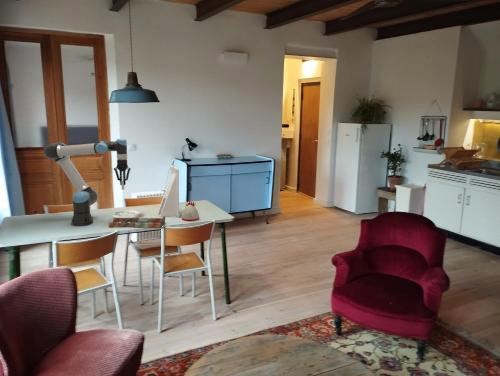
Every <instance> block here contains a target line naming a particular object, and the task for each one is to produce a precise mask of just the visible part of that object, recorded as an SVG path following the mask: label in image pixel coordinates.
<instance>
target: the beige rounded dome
mask: <svg viewBox="0 0 500 376" xmlns="http://www.w3.org/2000/svg"><path fill="white" fill-rule="evenodd" d="M198 211H199V210H198V209H197V208H196V203H195V202H194V201H193V202H192V201H190V200H189V201H187V203H185V207H184V209H183V210H182V215H181V220H182V221H184V222H196V221H199V219H200V214H199V212H198Z"/></svg>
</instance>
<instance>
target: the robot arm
mask: <svg viewBox="0 0 500 376" xmlns="http://www.w3.org/2000/svg"><path fill="white" fill-rule="evenodd" d="M109 152H116V166H115V167H114V168H113V171H114V173H115V176H116V179H117V181H119V185H120V186H121V190H125V186H126V181H128V179H129V176H130V173H131V170H132V168H131V167H129V165H128V144H127V139H126V138H117V139H116V140H115V141H109V140H101V141H100V142H95V143H93V142H92V143H85V144H84V143H83V144H72V145H67V144H65V143H63V142H55V143H54V142H53V143H49V144H47V145H45V147H44V148H43V155H44V156H45V158H47V159H49V160H51V161H52V160H54V162H55V164H58V165H59V166H60V168H61V170H62V171H63V172H64V174H65V175H66V177H67V178H68V180H69V181H70V183H71V184H72V187H74V189H75V191H76V192H75V193H73V195H72V208H73V210H72V211H73V215H72V218H71V221H70V222H71V226H77V227H86V226H89V225H92V224H94V219H93V216H92V214H91V207H92V205H95V203H96V202H97V201H98V199H99V196H98V193H97V191H96V190H95V189H93V188H92V187H91V185H87V183H86V182H85V180H84V178H83V177H82V175H81V174H80V172H79V171H78V169H77V168H76V165H74V162H73V161H72V160H71V156H83V155H93V154H94V155H96V154H101V155H102V154H106V153H109ZM126 171H127V173H126Z"/></svg>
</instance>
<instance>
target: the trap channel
mask: <svg viewBox="0 0 500 376" xmlns="http://www.w3.org/2000/svg"><path fill="white" fill-rule="evenodd" d="M139 219H149V223H138V220H139ZM119 222H130V223H119ZM107 223H108V228H110V229H111V228H112V229H113V227H134V228H133V229H141V228H142V229H162V228H161V227H162V226H163V225H165V224H166V217H165V216H163V217H161V218H160V217H113V218H112V222H107ZM163 227H164V226H163Z"/></svg>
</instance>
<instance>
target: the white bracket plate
mask: <svg viewBox="0 0 500 376" xmlns="http://www.w3.org/2000/svg"><path fill="white" fill-rule="evenodd" d="M164 191H165V192H164V193H163V197H162V199H161V202H160V206H159V208H158V211H157V213H156V215H157V216H159V218H163V216H165V218H171V217H176V218H180V169H179V168H178V167H175V166H173V165H170V178H169V181H168V183H167V185H166V189H165V190H164Z"/></svg>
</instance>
